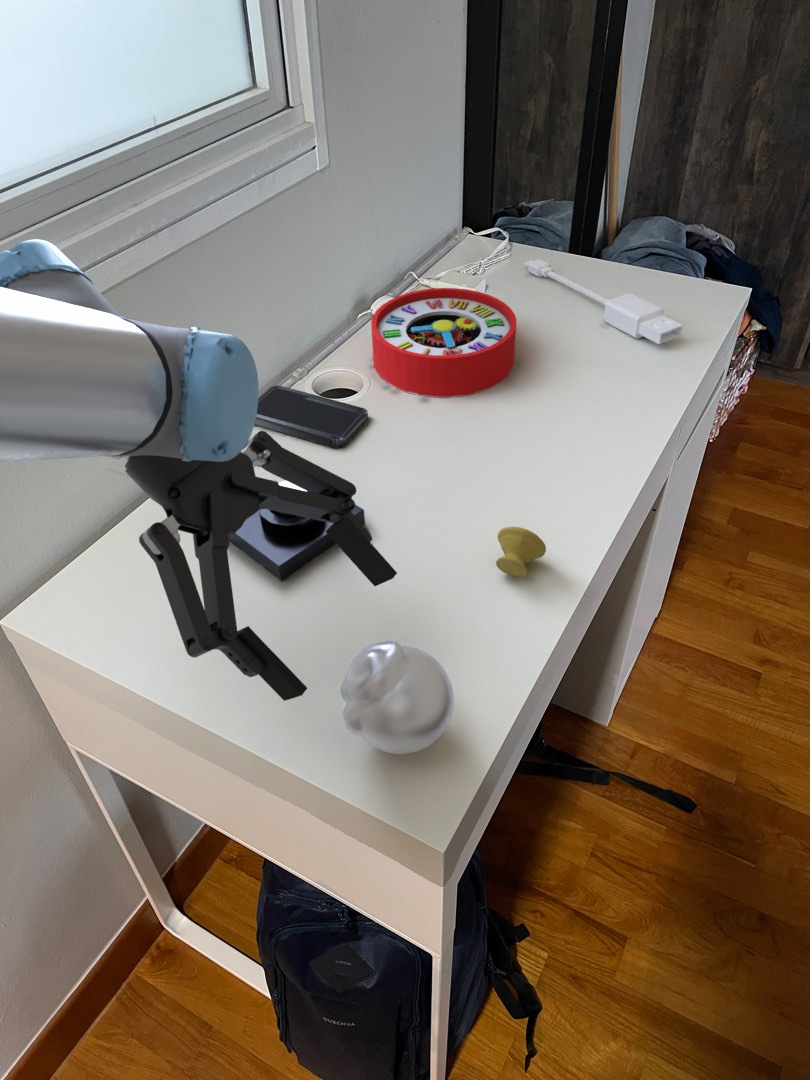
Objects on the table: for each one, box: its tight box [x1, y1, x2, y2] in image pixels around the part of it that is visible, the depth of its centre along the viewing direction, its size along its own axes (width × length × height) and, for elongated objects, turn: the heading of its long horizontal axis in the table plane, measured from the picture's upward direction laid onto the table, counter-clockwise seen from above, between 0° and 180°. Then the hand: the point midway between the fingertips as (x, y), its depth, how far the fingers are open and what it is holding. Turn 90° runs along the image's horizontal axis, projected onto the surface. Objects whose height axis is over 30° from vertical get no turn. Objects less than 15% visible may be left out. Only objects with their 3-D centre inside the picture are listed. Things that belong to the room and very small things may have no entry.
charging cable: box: [523, 258, 684, 345], centre depth 126 cm, size 5×32×3 cm, turn 31°
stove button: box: [273, 480, 308, 518], centre depth 87 cm, size 4×4×2 cm
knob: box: [495, 526, 547, 578], centre depth 83 cm, size 5×5×5 cm
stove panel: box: [229, 503, 366, 582], centre depth 89 cm, size 12×10×4 cm
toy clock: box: [370, 287, 517, 398], centre depth 114 cm, size 20×6×20 cm
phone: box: [254, 385, 369, 449], centre depth 106 cm, size 8×1×15 cm
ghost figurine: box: [340, 640, 455, 755], centre depth 68 cm, size 9×10×10 cm
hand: (344, 634), depth 66 cm, fingers open, 13 cm apart
